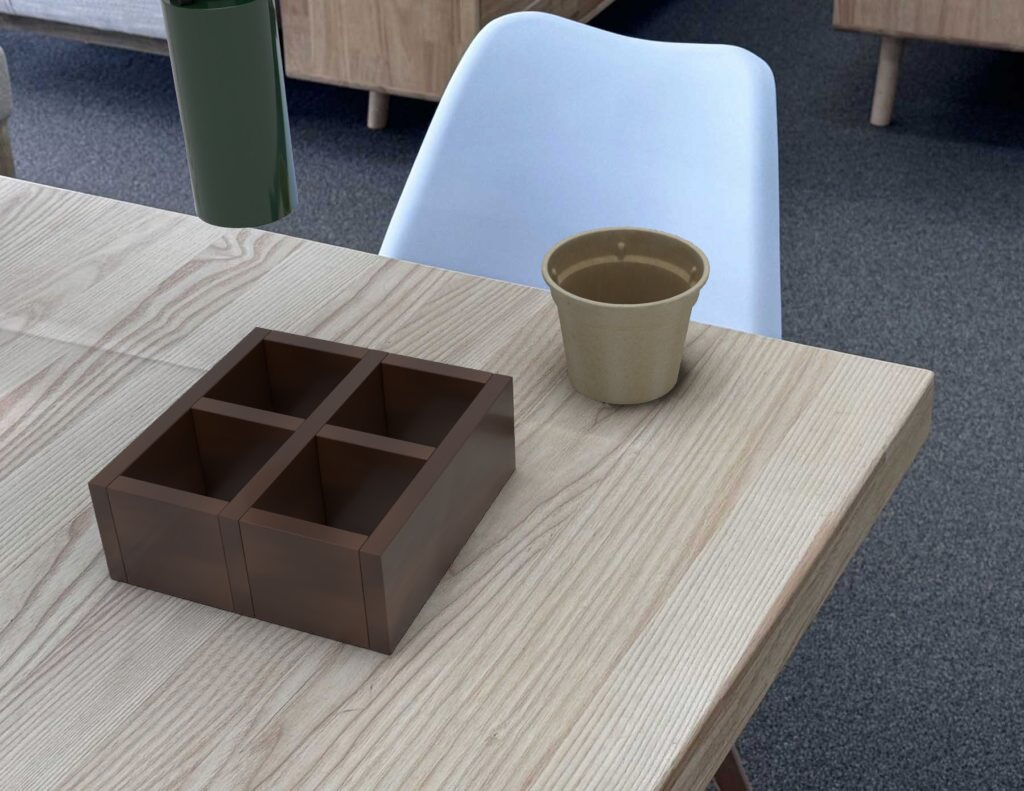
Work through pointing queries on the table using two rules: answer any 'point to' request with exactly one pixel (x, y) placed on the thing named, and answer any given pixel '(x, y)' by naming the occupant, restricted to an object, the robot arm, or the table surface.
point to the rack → (310, 485)
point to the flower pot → (624, 308)
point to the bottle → (232, 110)
